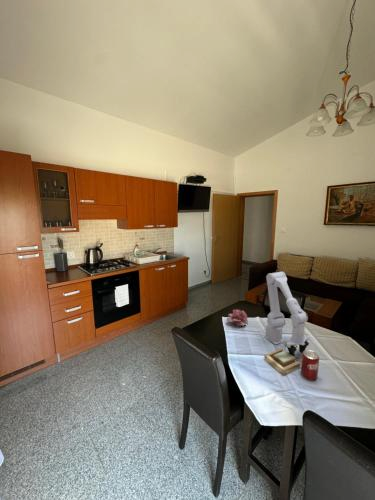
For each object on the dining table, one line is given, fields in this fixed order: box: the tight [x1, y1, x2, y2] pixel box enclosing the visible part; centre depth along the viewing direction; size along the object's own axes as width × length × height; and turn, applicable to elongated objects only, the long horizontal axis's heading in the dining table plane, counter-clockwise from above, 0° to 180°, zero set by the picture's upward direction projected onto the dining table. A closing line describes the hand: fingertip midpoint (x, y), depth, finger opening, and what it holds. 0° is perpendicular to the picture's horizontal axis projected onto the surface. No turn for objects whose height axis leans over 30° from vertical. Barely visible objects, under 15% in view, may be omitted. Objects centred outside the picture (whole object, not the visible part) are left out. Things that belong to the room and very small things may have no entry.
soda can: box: [300, 349, 320, 381], centre depth 105 cm, size 7×7×12 cm
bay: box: [263, 348, 302, 376], centre depth 114 cm, size 13×12×3 cm
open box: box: [273, 349, 297, 368], centre depth 115 cm, size 7×9×4 cm
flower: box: [226, 309, 249, 328], centre depth 155 cm, size 15×15×10 cm
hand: (296, 354), depth 119 cm, fingers open, 7 cm apart
